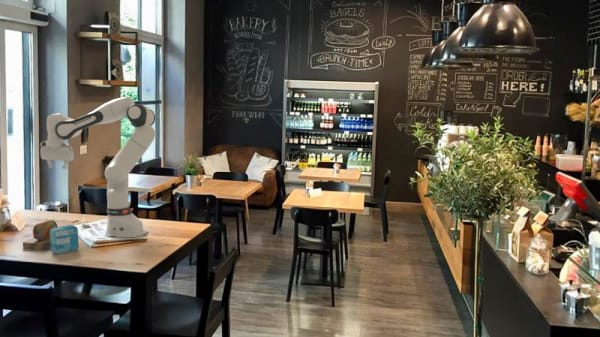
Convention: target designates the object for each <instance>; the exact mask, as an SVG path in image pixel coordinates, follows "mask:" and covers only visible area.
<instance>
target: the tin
mask: <svg viewBox="0 0 600 337" xmlns="http://www.w3.org/2000/svg"><path fill="white" fill-rule="evenodd" d="M57 227H58V224H57V222H56V221H55V220H53V219H51V220H48V219H47V220H45V221H42V222H39V223H37V224H35V225H34V226H33V229H32V235H33V236H32V237H33V238H35V239H36V240H45V239H47V238H50V230H51V229H52V228H57Z"/></svg>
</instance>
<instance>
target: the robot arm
mask: <svg viewBox="0 0 600 337" xmlns="http://www.w3.org/2000/svg"><path fill="white" fill-rule="evenodd" d="M125 118H127V119H128V120H129V122H130V123H131V125H132V126H133V127H134V132H132V134H131V135H130V136H129V138H128V139H127V140H126V142H125V143H124V144H123V145H122V147H121V148H120V150H119V151H118V152H117V153H116V155H115V156H114V157H113V158H112V160H110V162H109V164H108V165H107V166H106V167H105V170H104V177H105V179H106V180H107V181H106V182H107V185H106V199H107V202H106V203H107V207H106V214H107V226H106V231H105V234H106V233H107V234H106V236H107V235H110V236H109V237H111V236H116V237H115V238H137V237H141V236H144V235H146V234H148V229H144V225H143V221H142V220H140V219H139V218H138V217H137V216H136V215H135V214H134V213H133V210H134V208H133V207H132V208H131V207H130V201H129V200H130V199H129V174H130V173H131V172H132V170H133V169H134V167H135V166H136V165H137V163H138V162H139V160H140V159H141V158H142V157H143V156H144V154H145V153H146V152H147V150H148V149H149V148H150V146H151V145H152V143H153V142H154V139H155V138H156V135H157V132H156V130H155V128H154V127H153V125H154V124H155V121H156V114H155V112H154V111H153V110H152V109H150V108H149V107H147V106H146V105H144V104H140V103H135V101H134V100H133V99H132V97H129V96H123V97H118V98H115V99H112V100H110V101H108V102H105V103H104V104H102V105H100V106H99V107H97V108H96V109H94V110H92V111H91V112H89V113H87V114H85V115H83V116H80V117H77V118H71V117H68V116H66V115H64V114H63V113H61V112H60V113H59V112H57V113H53V114H49V115H48V116H47V119H46V131H47V140H43V141H42V142H40V144H39V146H40V151H39V152H40V158H41V159H42V160H43V161H44V160H45V161H46V162H47V165H48V168H49V169H53V168H54V164H53V162H52V161H60V162H61V161H63V163H64V164H63V165H62V170H67V169H68V165H69V162H71V161H74V159H75V154H74V150H73V145H71V144H70V143H66V141H67V140H69V139H72V138H75V137H79V136H80V135H81V134H82V132H83V130H84V129H86V128H89V127H92V126H97V125H105V124H111V123H115V122H117V121H121V120H123V119H125Z"/></svg>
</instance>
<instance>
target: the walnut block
mask: <svg viewBox="0 0 600 337" xmlns="http://www.w3.org/2000/svg"><path fill="white" fill-rule="evenodd" d="M22 249H23V250H27V249H30V250H29V251H39V250H40V251H41V252H45V251H47V250H51V242H50V238H47V239H45V240H36V239H35V238H34V237H33V238H31V239H28V240H25V241H23V242H22Z"/></svg>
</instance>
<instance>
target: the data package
mask: <svg viewBox="0 0 600 337" xmlns="http://www.w3.org/2000/svg"><path fill="white" fill-rule="evenodd" d="M50 242H51V248H50V251H51V253H54V254H56V255H60V254H64V253H65V254H66V253H69V252H75V251H77V250H78V249H79V246H80V245H79V243H80V242H79V230H78V227H77V226H76V225H72V224H68V225H64V226H57V228H52V229H51V230H50Z"/></svg>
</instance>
